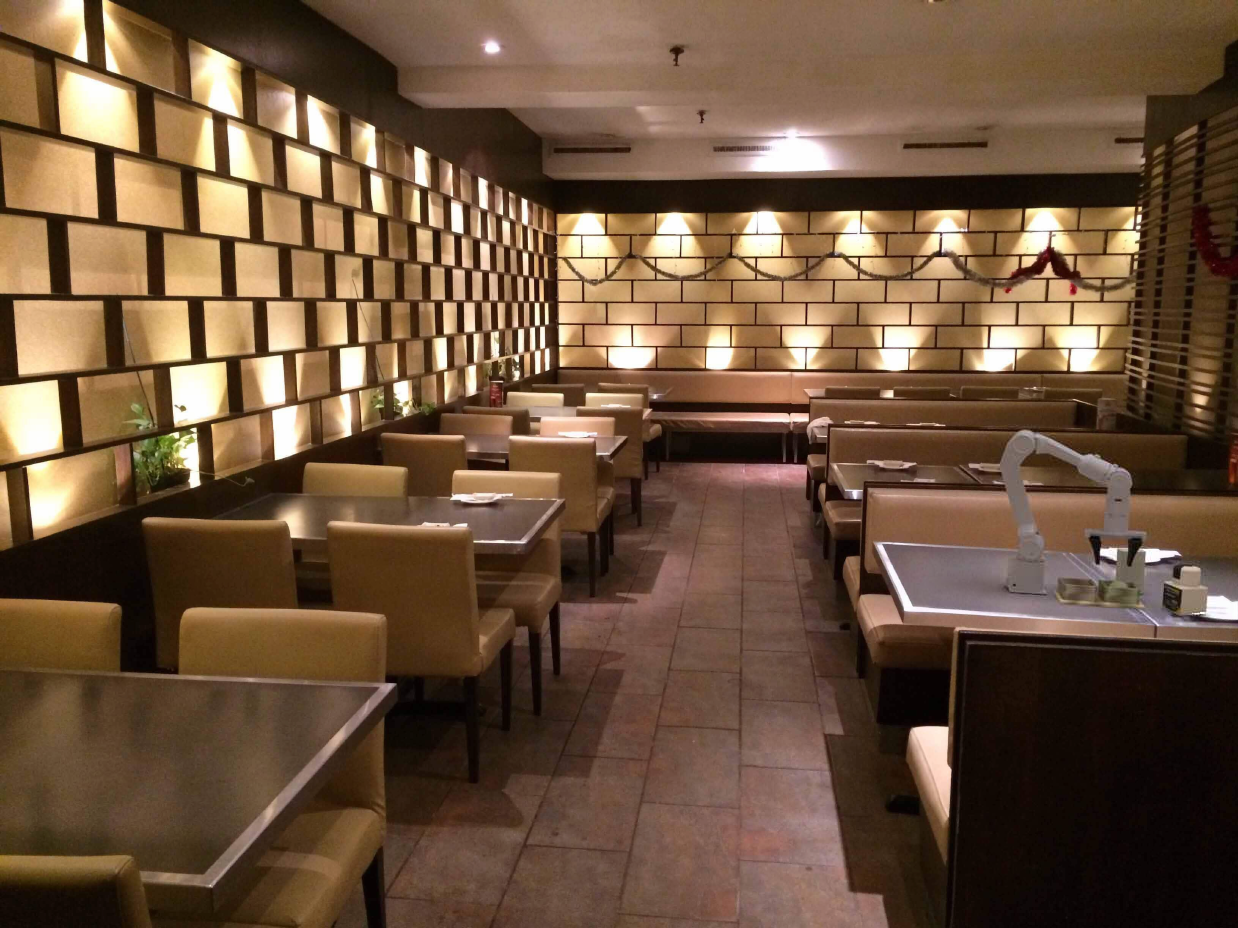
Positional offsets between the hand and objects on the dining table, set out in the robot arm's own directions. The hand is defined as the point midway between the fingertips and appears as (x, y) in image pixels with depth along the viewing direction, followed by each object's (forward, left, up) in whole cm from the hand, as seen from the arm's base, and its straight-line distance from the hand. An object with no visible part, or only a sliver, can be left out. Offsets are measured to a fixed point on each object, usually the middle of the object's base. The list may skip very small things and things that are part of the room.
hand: (1113, 564), depth 257 cm
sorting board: (-4, -3, -9) cm, 11 cm away
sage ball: (+1, -2, -6) cm, 7 cm away
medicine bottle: (+15, -8, -10) cm, 20 cm away
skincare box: (+6, +9, -10) cm, 15 cm away
